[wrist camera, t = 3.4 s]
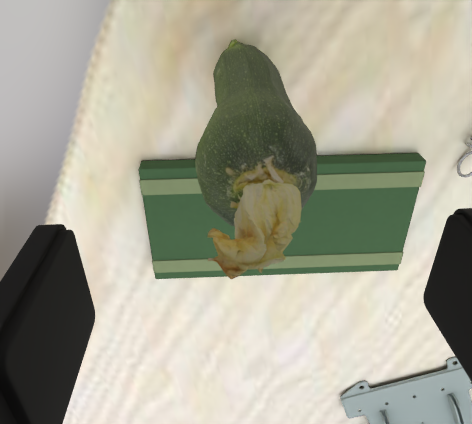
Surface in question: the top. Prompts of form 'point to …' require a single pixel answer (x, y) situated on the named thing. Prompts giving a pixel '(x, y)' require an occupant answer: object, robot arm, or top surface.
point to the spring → (462, 160)
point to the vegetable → (254, 162)
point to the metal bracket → (415, 399)
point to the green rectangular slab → (312, 218)
